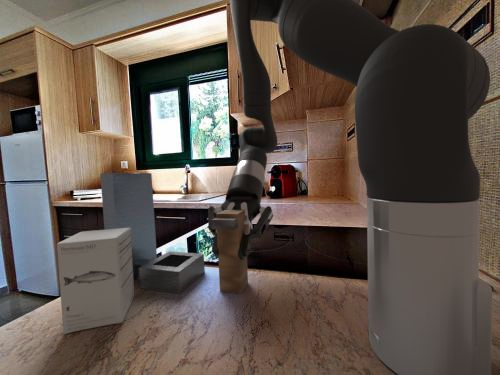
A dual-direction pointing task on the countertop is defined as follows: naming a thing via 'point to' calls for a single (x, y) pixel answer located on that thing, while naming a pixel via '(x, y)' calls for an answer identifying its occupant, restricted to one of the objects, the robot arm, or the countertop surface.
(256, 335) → the countertop surface
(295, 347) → the countertop surface
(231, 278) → the tan post
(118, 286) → the supplement box
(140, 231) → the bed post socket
